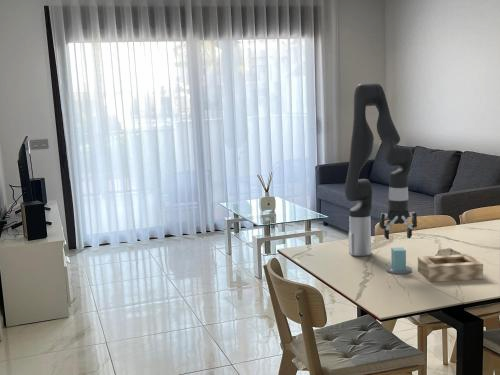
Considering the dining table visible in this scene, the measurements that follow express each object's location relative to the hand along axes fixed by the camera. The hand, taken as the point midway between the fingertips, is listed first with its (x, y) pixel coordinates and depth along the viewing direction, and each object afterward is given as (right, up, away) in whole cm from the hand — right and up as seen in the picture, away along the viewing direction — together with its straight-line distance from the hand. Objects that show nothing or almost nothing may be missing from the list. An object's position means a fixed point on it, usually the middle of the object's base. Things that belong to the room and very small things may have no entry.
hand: (398, 238), depth 232 cm
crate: (+18, -13, -7) cm, 23 cm away
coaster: (+1, -13, +2) cm, 13 cm away
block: (+1, -12, +2) cm, 12 cm away
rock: (+25, -11, +13) cm, 30 cm away
